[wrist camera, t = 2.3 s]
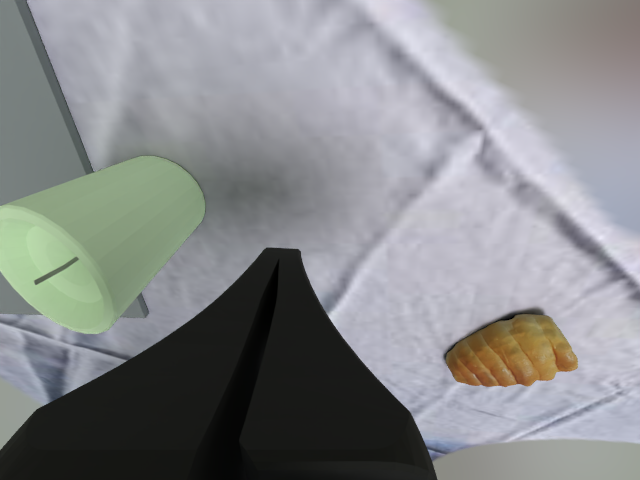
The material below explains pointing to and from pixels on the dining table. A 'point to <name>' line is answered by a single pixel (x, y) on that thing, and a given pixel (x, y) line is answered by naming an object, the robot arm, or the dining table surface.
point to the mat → (34, 131)
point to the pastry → (512, 353)
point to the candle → (97, 239)
